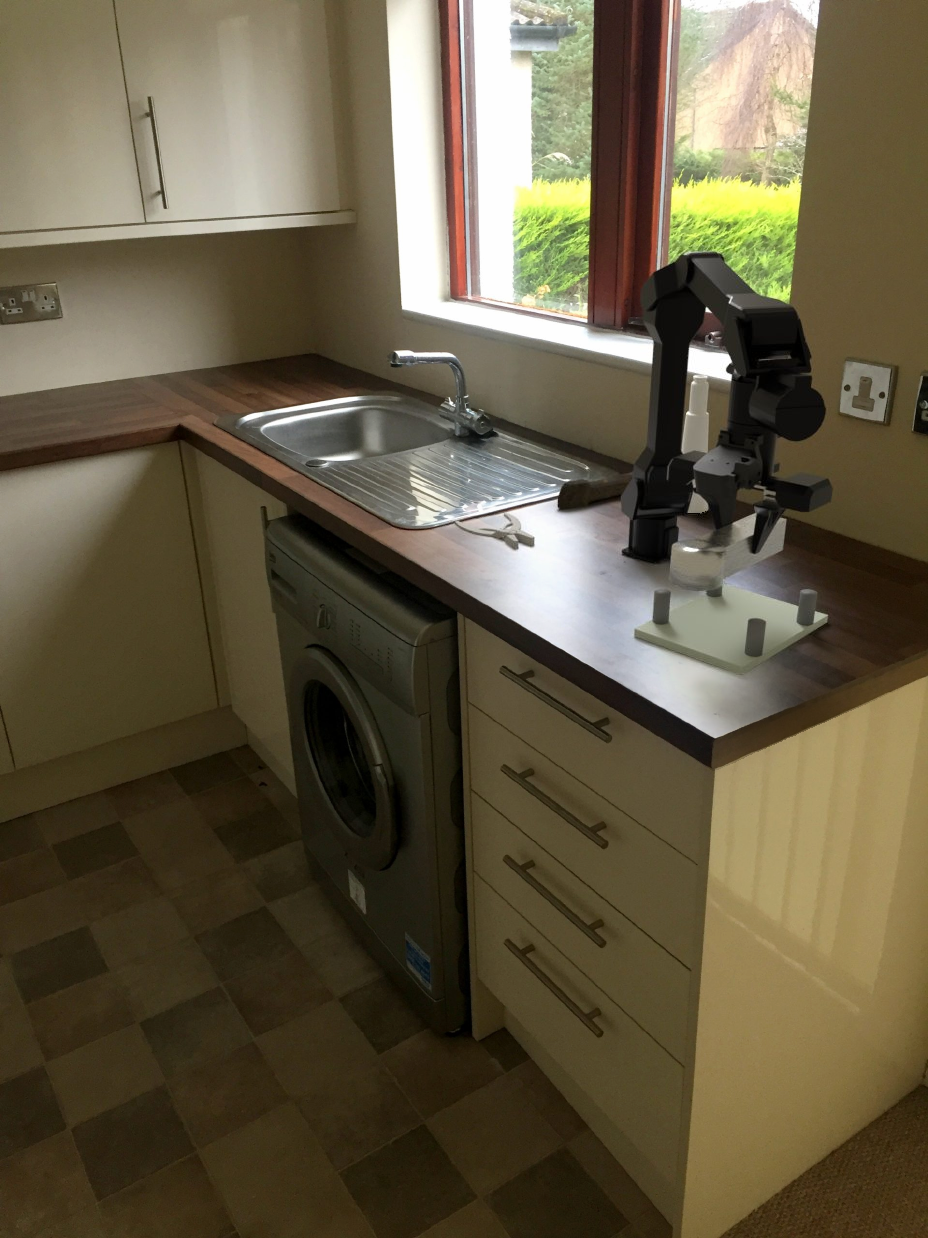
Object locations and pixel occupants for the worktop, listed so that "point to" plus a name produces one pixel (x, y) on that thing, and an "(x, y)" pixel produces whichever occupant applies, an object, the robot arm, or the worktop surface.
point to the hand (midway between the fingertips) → (739, 548)
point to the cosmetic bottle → (697, 431)
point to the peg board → (731, 626)
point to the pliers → (503, 532)
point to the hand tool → (591, 490)
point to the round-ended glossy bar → (720, 554)
